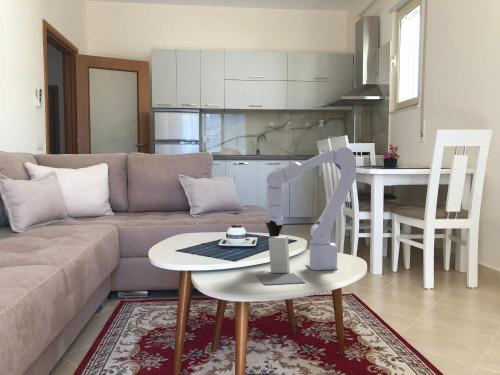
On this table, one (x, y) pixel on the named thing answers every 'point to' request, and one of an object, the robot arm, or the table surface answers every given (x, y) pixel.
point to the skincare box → (279, 254)
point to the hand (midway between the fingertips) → (274, 242)
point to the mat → (280, 279)
